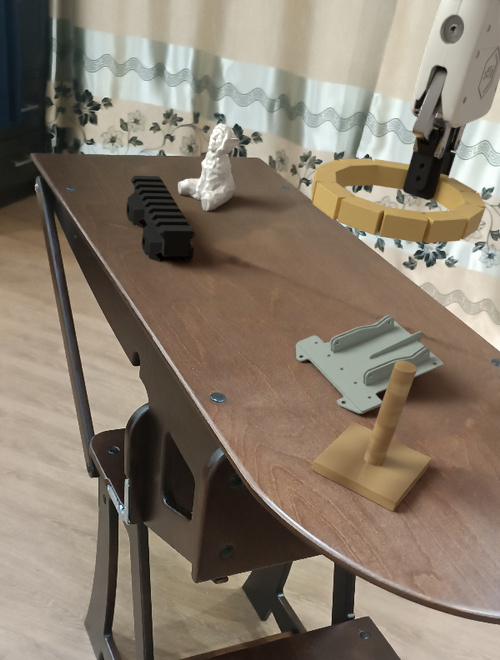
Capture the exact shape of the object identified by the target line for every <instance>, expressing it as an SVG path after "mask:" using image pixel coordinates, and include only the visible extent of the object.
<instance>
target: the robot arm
mask: <svg viewBox="0 0 500 660" xmlns="http://www.w3.org/2000/svg"><path fill="white" fill-rule="evenodd" d="M499 82H500V0H441V1H440V3H439V6H438V9H437V11H436V14H435V17H434V21H433V23H432V26H431V30H430V33H429V36H428V39H427V42H426V45H425V49H424V52H423V55H422V59H421V62H420V66H419V69H418V73H417V76H416V79H415V85H414V89H413V93H412V97H411V101H410V102H411V103H410V110H411V113H412V115H413V116H414V117H415V118H416V119H415V121H414V124H413V127H412V134H413V135H414V136H415V140H414V143H413V147H412V154H411V159H410V162H409V164H410V165H409V168H408V172H407V176H406V179H405V183H404V186H403V190H402V191H403V193H405V194H408V195H410V196H414V197H416V198H420V199H423V200H426V201H430V200H433V199H432V198H433V197H434V194H435V191H436V188H437V184H438V181H439V178H440V175H441V174H444V175H447V176H449V177H450V174H451V171H452V167H453V165H454V162H455V159H456V155H457V151H458V149H459V147H460V144H461V141H462V138H463V135H464V132H465V128H466V126H467V124H470V123H472V122H475V121H477V120H479V119H480V118H483V117H485V116H486V115H487V114H488V113H489V112H490V110H491V109H492V106H493V102H494V99H495V96H496V93H497V89H498V86H499V84H500V83H499Z"/></svg>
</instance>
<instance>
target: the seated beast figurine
mask: <svg viewBox="0 0 500 660" xmlns="http://www.w3.org/2000/svg"><path fill="white" fill-rule="evenodd" d="M209 137H210V138H209V141H208V147H207V150H208V151H207V153H206V154H205V158H204V159H203V160H202V161H201V163H200V164H201V175H200V177H198V178H191V177H190V178H185V179H184V180H181V181H178V182H177V192H178V194H179V195H182V196H190V197H192V198H194V199H196V201H200V203H201V208H202V210H203V211H205V212H209V211H213V210H214V211H215V210H216V209H217V208H220V206H222V205H224V204H225V203H227V202H228V201H230V200H231V199H232V197H233V194H234V192H235V191H236V187H237V186H236V183H235V179H234V176H233V174H232V163H231V160H230V158H229V156H228V154H230V153H231V152H232V151H233V149H235V148H236V147H238V146H239V144H240V138H239V137H237V135H236V134H235V131H234V129H231V128H230V127H229V126H228V125H226V124H225V123H222V122H220V123H218V124H217V125H215V127H214V128H213V129H212V134H210V135H209Z"/></svg>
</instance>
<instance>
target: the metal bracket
mask: <svg viewBox="0 0 500 660" xmlns="http://www.w3.org/2000/svg"><path fill="white" fill-rule="evenodd" d="M422 337H423V331H422V330H418V331H417V332H414V333H412V334H411V333H409V332H408V330H406V329H405V328H404V327H402V325H400V324H399V323H398V322H397V321H395V318H394V317H393V316H392V315H390V314H387V315H385V316H384V317H382V318H381V319H380V320H378V321H377V322H374V323H371V324H367V325H361V326H357V327H354V328H352V329H350V330H347V331H345V332H342V333H340V334H337V335H334V336H332V337H331V339H330V341H328V342H327V341H326V342H324V341H323V340H322V338H321V337H319V336H317V335H315V334H314V335H311V336H309V337H307V338H304V339H301V340H299V341H297V343H295V356H296V357H295V359H296V360H297V361H298V362H300V363H302V362H305V361H310V362H311V363H312V364H313V366H315V367H316V369H317V370H318V371H319V372H320V373H321V374H322V375H323V376H324V377H325V378H326V379H327V381H328V382H329V383H331V385H332V386H333V387H334V388H335V389H336V390H337V391H338V392H339V393H340V394H341V395H342V396H343V397H342V396H341V398H338V399H337V400H336V404H337V405H338V406H339V407H341V408H343V409H346V410H348V411H350V412H353V413H356V414H358V415H363V414H365V413H367V412H370V411H372V410H374V409H377V408H379V407H381V404H382V401H383V400H382V399H381V398H379V396H378V395H377V394H379V393H382V392H384V391H386V389H387V386H388V383H389V380H390V377H391V374H392V371H393V368H394V365H395V363H396V362H397V361H407V362H410V363H412V364H414V365H415V366H416V367H417V371H416V374H415V376H414V378H417V377H419V376H421V375H423V374H427V373H429V372H431V371H433V370H436V369H438V368H440V367H442V366H443V365H444V362H443V361H442V360H441V359H440V358H439V357H438V356H436V355H435V354H434V353H433V352H432V351H431V349H430V348H429V347H428V346H426V345H423V343H421V341H422Z"/></svg>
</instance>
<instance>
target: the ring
mask: <svg viewBox="0 0 500 660" xmlns="http://www.w3.org/2000/svg"><path fill="white" fill-rule="evenodd" d="M409 165H410V163H403V162H398V161H392V160H384V159H378V158H374V159H371V158H370V157H369V158H338V160H337V159H334V160H331V161H329V162H327V163H324V164H321V165H317V167H315V168H314V169H315V170H314V176H313V180H312V185H311V197H310V198H311V201H310V202H311V203H312V205H313V206H314V207H315V208H317V209H319V211H321V212H322V213H324V215H326V216H328V217H329V218H330V219H331V220H333V221H334V220H336V222H337V223H340V224H342V225H345V226H348V227H351V228H353V229H355V230H359V231H361V232H364V233H367V234H370V235H373V236H375V235H376V234H378V236H379V237H380V238H387V239H394V240H401V241H407V242H412V243H413V242H414V243H419V244H421V243H422V242H424V243H425V244H436V243H447V242H449V243H450V242H459V241H461V240H465V239H466V238H468V237H470V236H471V235H472V234H474V233H475V232H476V231H478V230H479V227H480V224H481V222H482V220H483V216H484V213H485V210H486V205H485V202H484V200H483V199H482V197H481V194H480V193H479V192H478V191H477V190H475V189H473V188H471V187H470V186H468V185H466V184H465V183H463V182H462V181H460V180H458V179H457V178H454V177H450V175H449V176H447V175H444V174H441V175H440V178H439V181H438V184H437V188H436V191H435V194H434V197H433V198H432V199H431V200H433V201H435V202H436V203H437V204H439V205H441V206H443V207H444V208H446V209H447V210H439V211H436V210H435V211H418V210H410V209H405V208H398V207H393V206H386V205H383V204H380V203H377V202H374V201H372V200H369V199H366V198H363V197H360V196H357V195H355V194H354V193H352V192H351V191H349V190H347V189H346V188H345V187H359V186H360V187H361V186H362V187H363V186H378V187H383V188H390V189H396V190H402V191H403V186H404V183H405V179H406V176H407V172H408V168H409Z"/></svg>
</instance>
